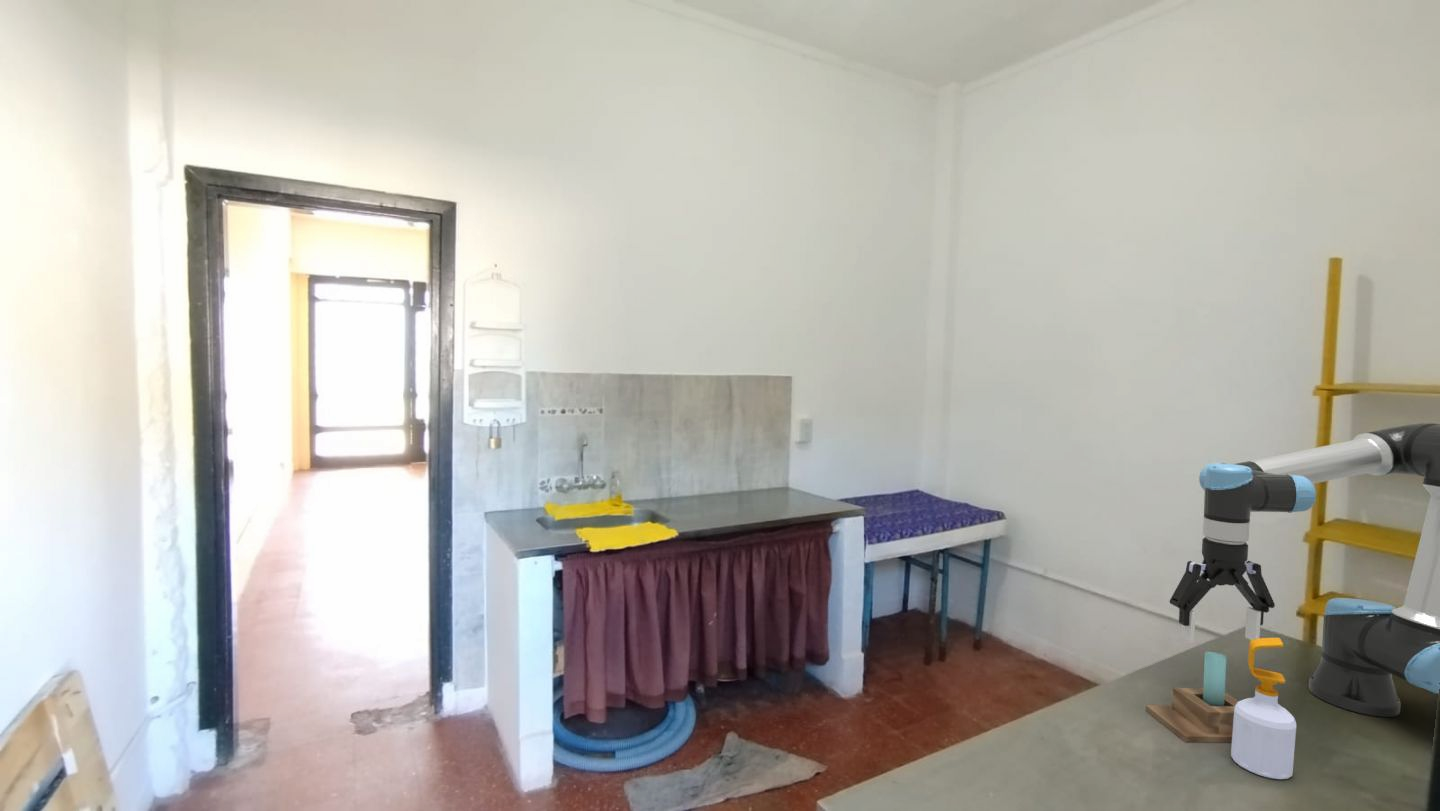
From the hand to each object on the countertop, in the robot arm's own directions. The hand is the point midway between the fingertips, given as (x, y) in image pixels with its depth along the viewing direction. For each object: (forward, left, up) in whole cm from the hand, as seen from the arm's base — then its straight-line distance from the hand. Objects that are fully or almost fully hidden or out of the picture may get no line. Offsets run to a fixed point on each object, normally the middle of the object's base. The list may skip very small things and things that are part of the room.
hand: (1219, 640), depth 137 cm
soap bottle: (+1, +13, -19) cm, 23 cm away
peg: (0, 0, -17) cm, 17 cm away
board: (0, 0, -19) cm, 19 cm away
